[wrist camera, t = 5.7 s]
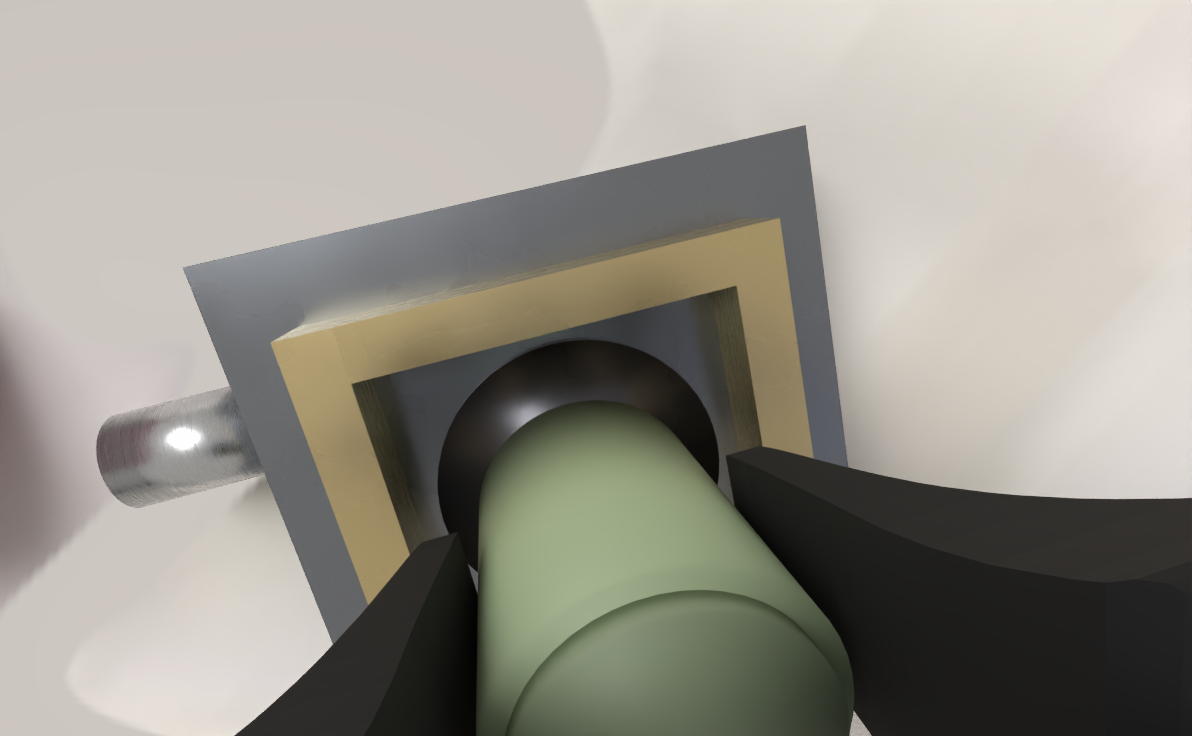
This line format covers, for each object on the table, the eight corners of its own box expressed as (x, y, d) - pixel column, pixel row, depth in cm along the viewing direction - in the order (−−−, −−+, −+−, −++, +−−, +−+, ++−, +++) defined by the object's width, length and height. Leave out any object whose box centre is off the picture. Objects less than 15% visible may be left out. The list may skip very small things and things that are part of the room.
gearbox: (745, 142, 15) (847, 112, 11) (808, 562, 18) (906, 667, 14) (105, 289, 14) (-70, 322, 9) (294, 722, 17) (228, 895, 13)
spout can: (670, 371, 13) (936, 612, 5) (714, 561, 14) (979, 969, 7) (448, 440, 12) (394, 809, 5) (516, 630, 14) (556, 1150, 6)
